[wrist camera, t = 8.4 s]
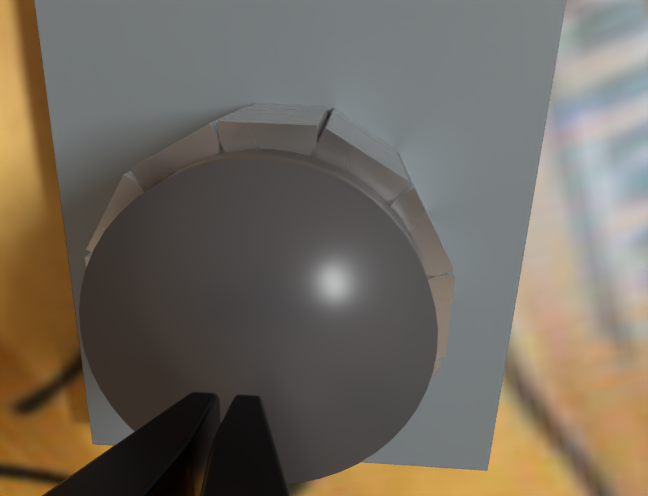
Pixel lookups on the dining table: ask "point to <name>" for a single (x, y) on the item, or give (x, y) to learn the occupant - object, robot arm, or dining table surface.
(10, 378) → the dining table surface
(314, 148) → the faceted ring
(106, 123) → the mount plate
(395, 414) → the knob
